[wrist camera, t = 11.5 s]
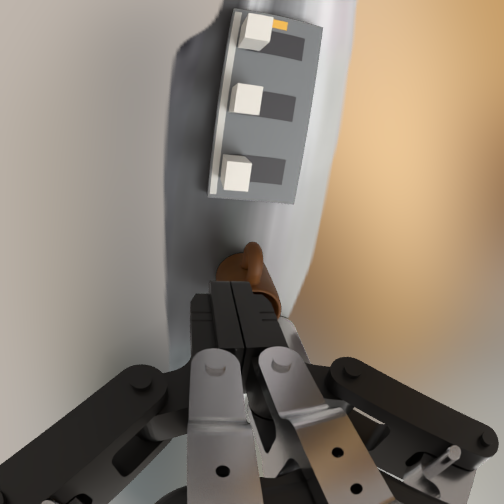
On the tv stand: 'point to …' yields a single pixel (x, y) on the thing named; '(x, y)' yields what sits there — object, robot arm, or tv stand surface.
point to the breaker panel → (267, 109)
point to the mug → (250, 273)
